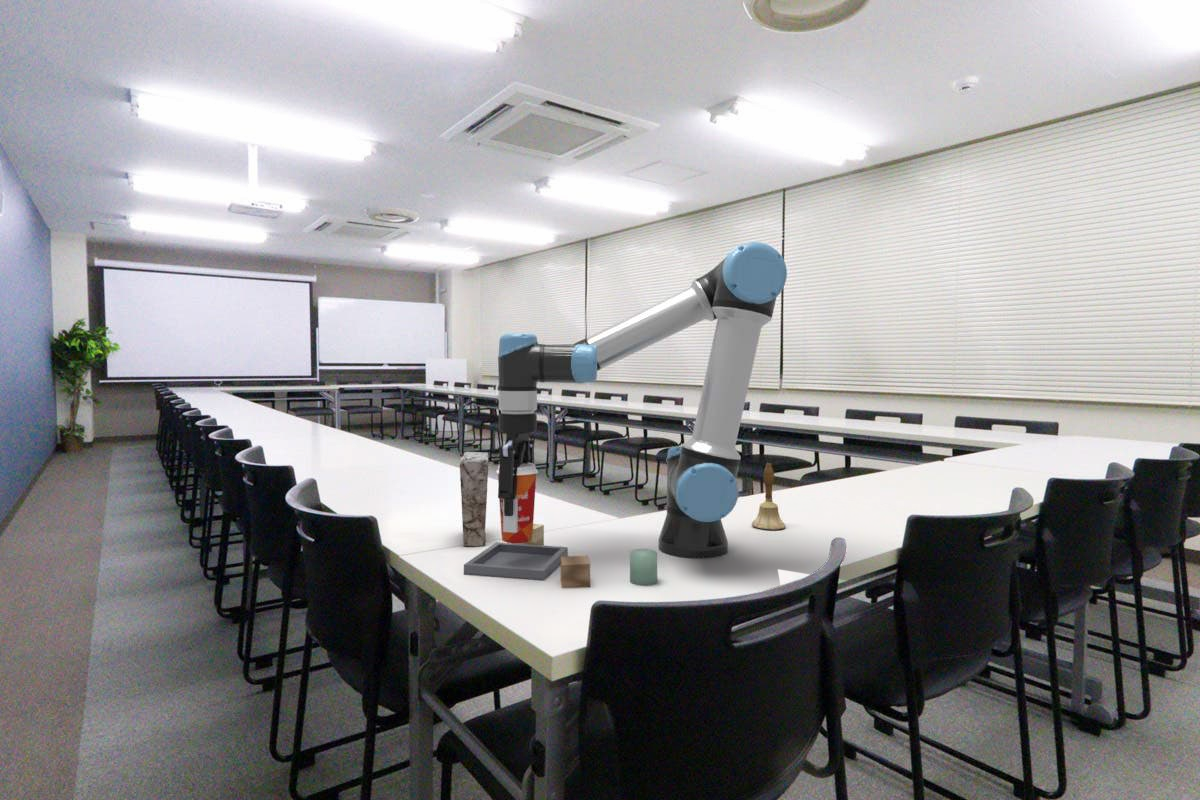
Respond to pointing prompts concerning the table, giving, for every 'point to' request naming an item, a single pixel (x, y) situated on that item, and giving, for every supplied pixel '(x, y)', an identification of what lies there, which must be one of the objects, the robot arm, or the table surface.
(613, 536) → the table surface
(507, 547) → the charcoal tray
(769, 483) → the hand bell
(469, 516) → the stone block
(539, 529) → the oak block
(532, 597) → the table surface
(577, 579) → the walnut cube
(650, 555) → the green tin
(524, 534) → the coffee cup
